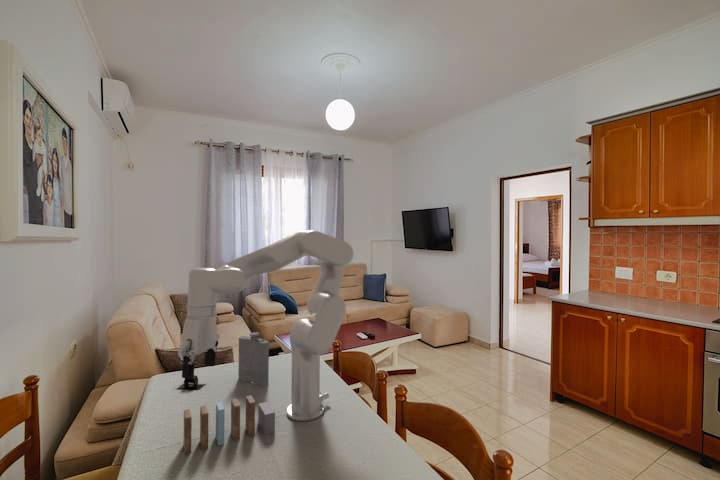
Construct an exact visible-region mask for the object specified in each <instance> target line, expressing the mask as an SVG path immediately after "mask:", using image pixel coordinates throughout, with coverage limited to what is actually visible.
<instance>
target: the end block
mask: <svg viewBox="0 0 720 480" xmlns="http://www.w3.org/2000/svg"><path fill="white" fill-rule="evenodd" d="M257 411H258V413H257V414H258V417H257V423H258V425H259V426H260V428H261V430H262V431H263V433H264V434H263V435H268V434H272V433H275V432H276V411H275V410H274V409H273V406H271V404H270V403H269V401H265V402H259V403H258V409H257Z"/></svg>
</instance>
